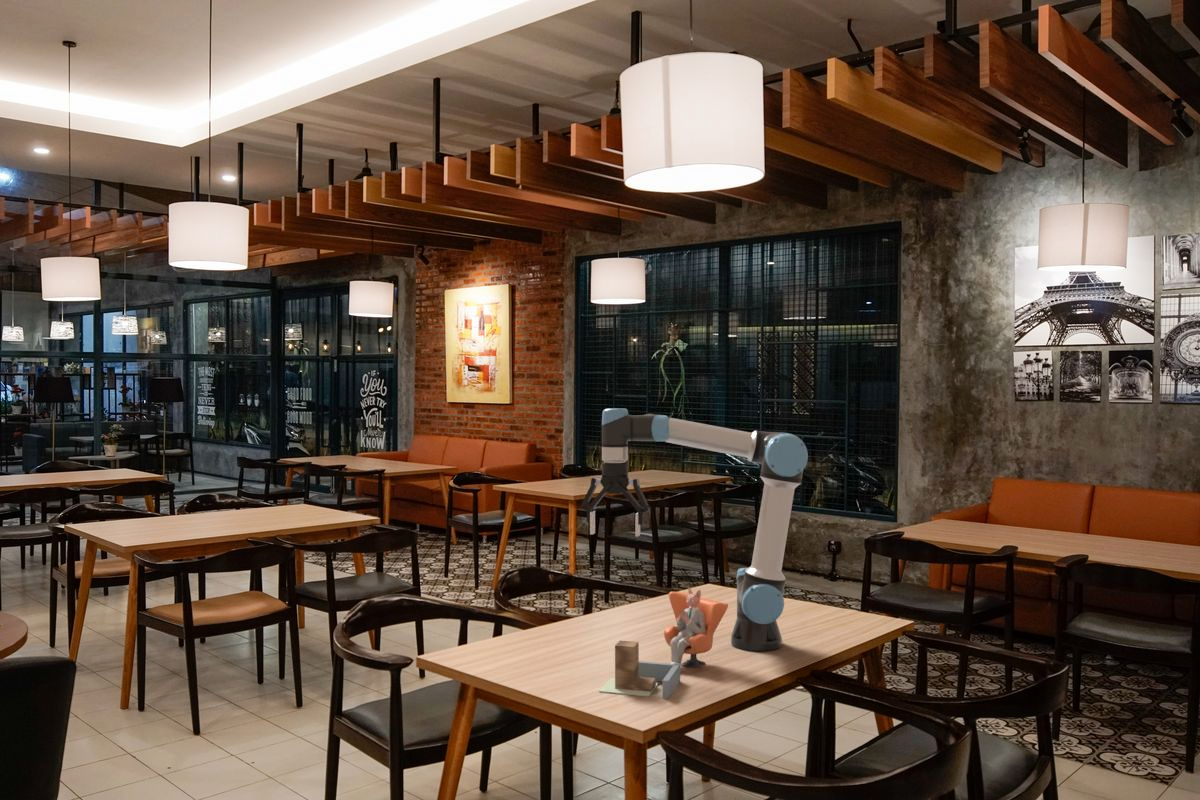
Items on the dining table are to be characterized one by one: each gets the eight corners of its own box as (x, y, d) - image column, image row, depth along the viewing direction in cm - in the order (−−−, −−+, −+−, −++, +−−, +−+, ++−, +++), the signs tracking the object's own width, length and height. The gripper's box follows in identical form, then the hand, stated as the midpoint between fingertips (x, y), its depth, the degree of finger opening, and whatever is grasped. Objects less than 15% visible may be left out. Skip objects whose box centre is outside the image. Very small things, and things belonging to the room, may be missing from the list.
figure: (635, 663, 258) (635, 588, 258) (681, 652, 270) (681, 579, 270) (691, 682, 241) (691, 601, 241) (738, 669, 253) (738, 592, 253)
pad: (658, 683, 241) (658, 682, 241) (649, 696, 230) (649, 695, 230) (610, 679, 244) (610, 678, 244) (599, 692, 234) (599, 690, 234)
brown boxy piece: (655, 685, 238) (655, 643, 238) (651, 691, 233) (651, 648, 233) (619, 682, 241) (619, 640, 240) (615, 688, 236) (615, 645, 236)
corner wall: (680, 681, 242) (680, 664, 242) (668, 698, 229) (668, 680, 229) (624, 676, 247) (624, 659, 247) (610, 693, 233) (610, 675, 233)
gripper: (659, 461, 267) (660, 534, 267) (577, 459, 274) (577, 531, 274) (654, 463, 260) (654, 538, 260) (569, 461, 267) (570, 534, 267)
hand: (615, 535), depth 267 cm, fingers open, 13 cm apart
